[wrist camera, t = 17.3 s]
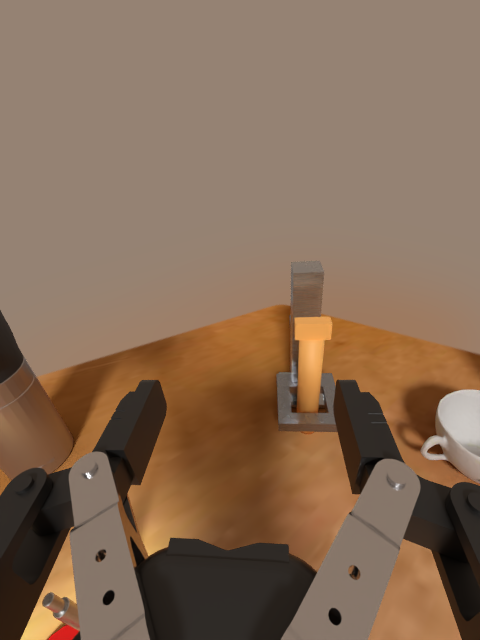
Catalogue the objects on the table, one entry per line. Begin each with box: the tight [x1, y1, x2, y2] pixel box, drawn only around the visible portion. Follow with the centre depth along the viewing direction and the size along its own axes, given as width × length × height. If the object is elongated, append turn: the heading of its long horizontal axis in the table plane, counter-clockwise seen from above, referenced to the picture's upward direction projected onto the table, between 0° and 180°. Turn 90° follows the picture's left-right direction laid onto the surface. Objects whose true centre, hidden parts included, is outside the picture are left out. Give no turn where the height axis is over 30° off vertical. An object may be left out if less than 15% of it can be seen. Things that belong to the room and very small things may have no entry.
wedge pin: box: [294, 317, 332, 434], centre depth 41 cm, size 4×3×20 cm
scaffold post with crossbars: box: [277, 261, 338, 432], centre depth 48 cm, size 28×9×24 cm, turn 176°
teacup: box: [421, 390, 480, 484], centre depth 37 cm, size 15×12×8 cm
